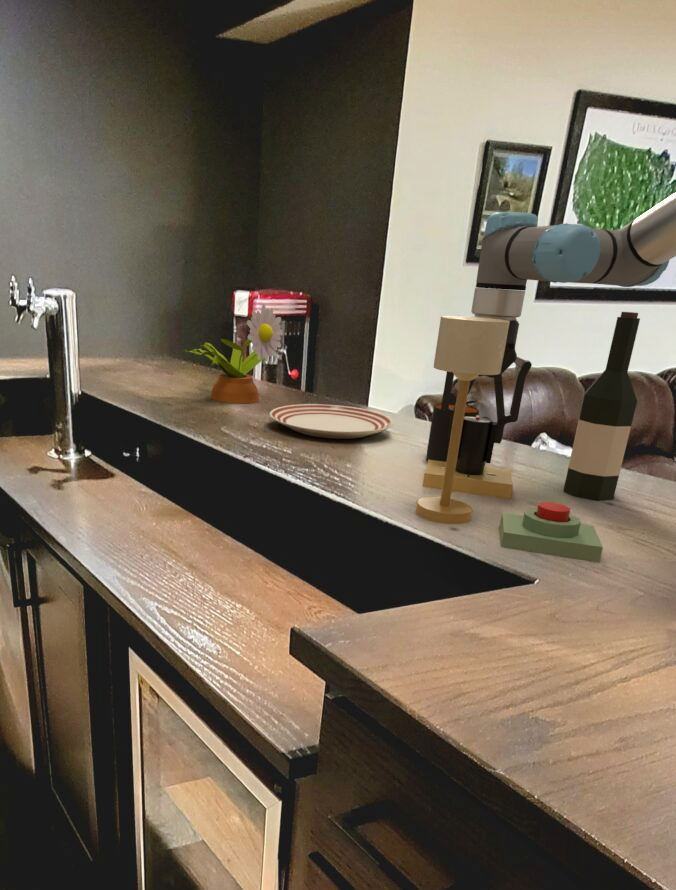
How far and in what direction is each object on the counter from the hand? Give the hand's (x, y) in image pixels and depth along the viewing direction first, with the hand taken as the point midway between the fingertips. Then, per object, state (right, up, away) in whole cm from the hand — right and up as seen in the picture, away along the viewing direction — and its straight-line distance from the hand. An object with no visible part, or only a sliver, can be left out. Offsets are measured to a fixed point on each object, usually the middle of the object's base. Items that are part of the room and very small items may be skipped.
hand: (470, 458), depth 123 cm
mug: (+3, +1, +17) cm, 18 cm away
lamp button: (+2, -10, -25) cm, 27 cm away
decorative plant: (-39, +22, +71) cm, 84 cm away
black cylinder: (0, -2, +1) cm, 2 cm away
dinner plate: (-18, +9, +39) cm, 44 cm away
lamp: (-9, -10, -15) cm, 20 cm away
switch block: (+2, -14, -24) cm, 28 cm away
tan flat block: (0, -4, +2) cm, 5 cm away
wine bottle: (+21, -6, +1) cm, 21 cm away
